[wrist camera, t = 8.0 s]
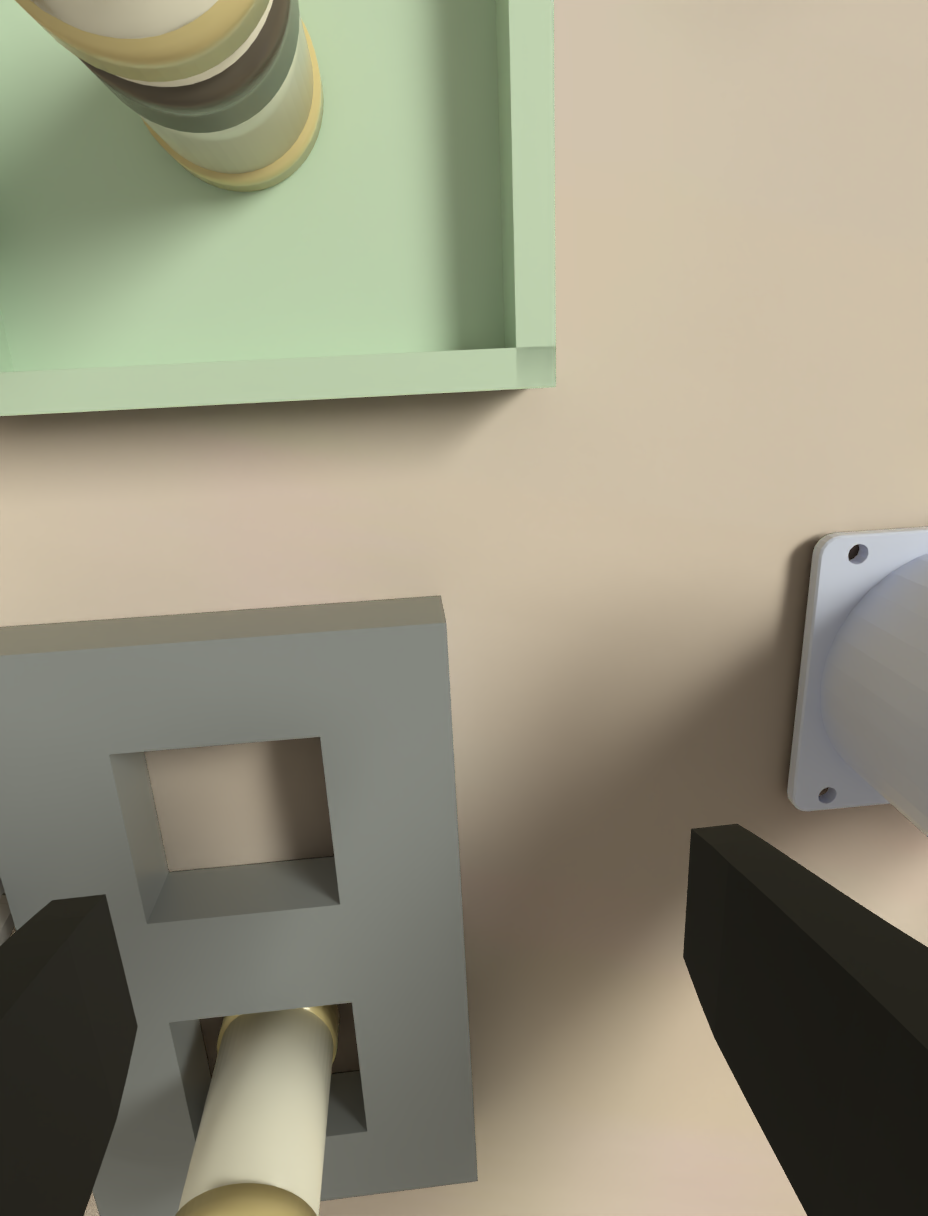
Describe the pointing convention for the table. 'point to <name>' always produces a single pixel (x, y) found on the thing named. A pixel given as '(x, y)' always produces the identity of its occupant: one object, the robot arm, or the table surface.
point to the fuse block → (257, 868)
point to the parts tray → (288, 225)
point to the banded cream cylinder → (204, 78)
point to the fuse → (265, 1116)
